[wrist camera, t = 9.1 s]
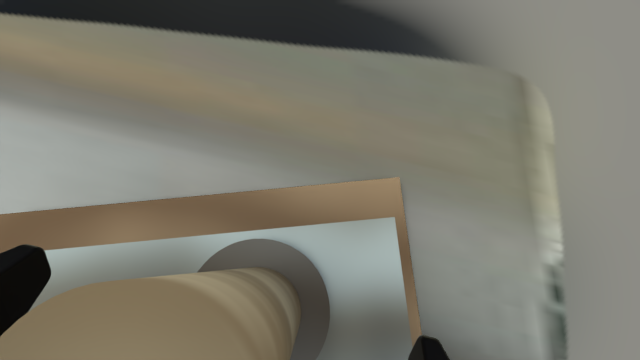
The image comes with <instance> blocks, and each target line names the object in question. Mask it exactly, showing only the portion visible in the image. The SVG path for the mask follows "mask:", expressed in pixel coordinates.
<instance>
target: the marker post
mask: <svg viewBox="0 0 640 360" xmlns="http://www.w3.org/2000/svg"><path fill="white" fill-rule="evenodd" d="M329 322H330V304H329V297H328V293H327V290H326V286H325V284H324V281H323V279H322V276H321V275H320V273H319V271H318V269H317V268H316V267H315V266H314V264H313V263H312V262H311V261H310V260H309V259H308V258H307V257H306V256H305V255H304V254H302V253H301V252H300V251H298V250H296V249H295V248H293V247H291V246H289V245H287V244H284V243H282V242H279V241H275V240H270V239H248V240H243V241H239V242H236V243H233V244H231V245H229V246H226V247H225V248H223V249H221V250H219V251H218V252H217V253H215V254H214V255H213V256H211V257H210V258H209V259H208V260H207V261H206V262H205V263H204V264H203V265H202V267H201V268H200V269H199V270H198V272H197V273H188V274H178V275H167V276H157V277H146V278H136V279H125V280H115V281H106V282H99V283H92V284H88V285H85V286H81V287H77V288H74V289H71V290H69V291H66V292H64V293H61V294H59V295H56V296H54V297H52V298H51V299H49V300H47V301H45V302H43V303H42V304H40V305H38V306H36V307H35V308H33V309H32V310H31V311H29V312H28V313H27V314H25V315H24V316H22V317H21V318H20V319H18V320H17V321H16V322H15V323H14V324H13V325H12V326H11V327H10V328H9V329H7V330H6V331H5V332H4V333H3V334H2V335H1V336H0V360H316V358H317V357H318V355H319V353H320V352H321V350H322V348H323V345H324V343H325V340H326V337H327V333H328V329H329Z"/></svg>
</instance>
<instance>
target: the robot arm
mask: <svg viewBox="0 0 640 360" xmlns="http://www.w3.org/2000/svg"><path fill="white" fill-rule="evenodd" d="M50 277H51V268H50V265H49V262H48V259H47V256H46V253H45V251H44V249H43V248H41V247H38V246H34V245H29V244H23V245H19V246H17V247H14V248H12V249H9V250H7V251H4V252H2V253H0V336H1V335H2V334H3V333H4V332H5V331H6V330H7V329H9V328H10V327H11V326H12V325H13V324H14V323H15V322H16V321H17V320H18V319H20V318H21V317H22V316H24V315H25V314H27V313H28V312H29V310H30V309H31V307H32V306H33V304H34V303H35V301H36V300H37V298H38V297H39V295H40V294H41V292H42V291H43V289H44V288H45V286H46V285H47V283H48V281H49V279H50ZM408 360H450V359H449V358H448V356H447V354H446V352H445V350H444V349H443V347H442V345H441V343H440V342H439V340H437V339H436V338H433V337H429V336H424V335H420V336H419V337H418V338H417V340H416V342H415V344H414V346H413V348H412V350H411V352H410V354H409V357H408Z"/></svg>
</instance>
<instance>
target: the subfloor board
mask: <svg viewBox="0 0 640 360" xmlns="http://www.w3.org/2000/svg"><path fill="white" fill-rule="evenodd" d="M248 239H270V240H275V241H279V242H282V243H284V244H287V245H289V246H291V247H293V248H295V249H296V250H298V251H300V252H301V253H302V254H304V255H305V256H306V257H307V258H308V259H309V260H310V261H311V262H312V263H313V264H314V266H315V267H316V268H317V269H318V271H319V273H320V275H321V276H322V279H323V281H324V284H325V286H326V290H327V293H328V297H329V304H330V322H329V329H328V333H327V337H326V340H325V343H324V345H323V348H322V350H321V352H320V353H319V355H318V357H317V358H316V360H408V357H409V354H410V352H411V350H412V348H413V346H414V344H415V342H416V340H417V338H418V337H419V336H420V335H422V333H421V326H420V319H419V312H418V305H417V298H416V291H415V284H414V277H413V270H412V263H411V256H410V249H409V242H408V235H407V228H406V221H405V214H404V207H403V200H402V193H401V186H400V179H399V177H397V178H386V179H375V180H365V181H354V182H343V183H333V184H322V185H311V186H300V187H290V188H279V189H268V190H257V191H247V192H236V193H225V194H215V195H204V196H193V197H182V198H172V199H161V200H150V201H139V202H129V203H118V204H107V205H97V206H86V207H75V208H64V209H54V210H43V211H32V212H21V213H11V214H0V253H2V252H4V251H7V250H9V249H12V248H14V247H17V246H19V245H23V244H29V245H34V246H38V247H41V248H43V249H44V251H45V253H46V256H47V259H48V262H49V265H50V268H51V277H50V279H49V281H48V283H47V285H46V286H45V288H44V289H43V291H42V292H41V294H40V295H39V297H38V298H37V300H36V301H35V303H34V304H33V306H32V307H31V309H30V310H29V311H31V310H32V309H33V308H35V307H36V306H38V305H40V304H42V303H43V302H45V301H47V300H49V299H51V298H52V297H54V296H56V295H59V294H61V293H64V292H66V291H69V290H71V289H74V288H77V287H81V286H85V285H88V284H92V283H99V282H106V281H115V280H125V279H136V278H146V277H157V276H167V275H178V274H188V273H197V272H198V270H199V269H200V268H201V267H202V265H203V264H204V263H205V262H206V261H207V260H208V259H209V258H210V257H211V256H213V255H214V254H215V253H217V252H218V251H219V250H221V249H223V248H225V247H226V246H229V245H231V244H233V243H236V242H239V241H243V240H248Z"/></svg>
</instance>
